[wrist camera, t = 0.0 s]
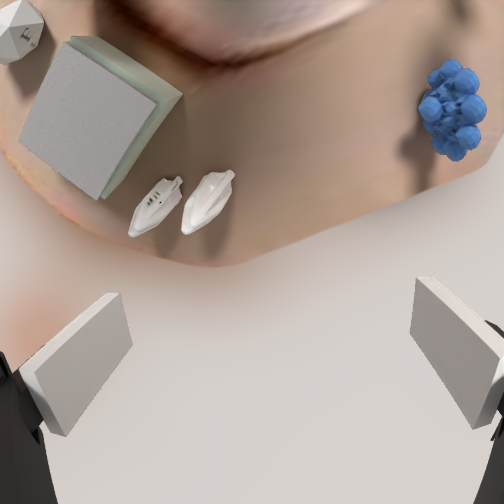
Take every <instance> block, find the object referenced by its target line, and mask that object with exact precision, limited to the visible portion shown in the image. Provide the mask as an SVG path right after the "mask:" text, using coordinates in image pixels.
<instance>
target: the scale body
mask: <svg viewBox="0 0 504 504" xmlns="http://www.w3.org/2000/svg"><path fill="white" fill-rule="evenodd" d="M68 42H70V43H72V44H74V45H75V46H77V47H78V48H80V49H82V50H83V51H85V52H86V53H88V54H89V55H91V56H93V57H94V58H96V59H97V60H99V61H100V62H102V63H103V64H105V65H106V66H108V67H109V68H111V69H112V70H114V71H115V72H117V73H118V74H120V75H121V76H123V77H124V78H126V79H127V80H129V81H130V82H132V83H133V84H134V85H136V86H137V87H139V88H140V89H142V90H143V91H145V92H146V93H147V94H149V95H150V96H152V97H153V98H154V99H156V100H157V101H159V102H160V104H159V105H158V107H157V108H156V109H155V111H154V112H153V114H152V115H151V117H150V118H149V119H148V121H147V122H146V124H145V125H144V127H143V128H142V130H141V131H140V133H139V134H138V136H137V137H136V139H135V140H134V142H133V144H132V145H131V147H130V148H129V150H128V151H127V153H126V155H125V156H124V158H123V160H122V161H121V163H120V164H119V166H118V168H117V169H116V171H115V173H114V175H113V176H112V178H111V180H110V181H109V183H108V185H107V187H106V188H105V190H104V192H103V194H102V196H101V197H102V198H103V199H104V200H105V199H106V198H107V197H108V196H109V195H110V194H111V193H112V192H113V191H114V190H115V189H116V188H117V186H118V185H119V184H120V183H121V182H122V181H123V180H124V179H125V177H126V176H127V174H128V172H129V171H130V169H131V168H132V166H133V165H134V163H135V162H136V160H137V158H138V157H139V155H140V154H141V152H142V151H143V149H144V148H145V146H146V145H147V143H148V142H149V140H150V139H151V138H152V136H153V135H154V133H155V132H156V130H157V129H158V128H159V126H160V125H161V123H162V122H163V121H164V119H165V118H166V116H167V115H168V114H169V112H170V111H171V110H172V108H173V107H174V106H175V104H176V103H177V102H178V100H179V99H180V98H181V96H182V95H183V93H181V92H180V91H179V90H177V89H176V88H174V87H173V86H172V85H170V84H169V83H167V82H166V81H165V80H163V79H162V78H160V77H159V76H157V75H156V74H154V73H153V72H152V71H150V70H149V69H147V68H146V67H144V66H143V65H141V64H140V63H138V62H137V61H135V60H134V59H132V58H131V57H129V56H128V55H126V54H125V53H123V52H121V51H120V50H118V49H117V48H115V47H114V46H112V45H110V44H109V43H107V42H106V41H104V40H103V39H101V38H99V37H98V36H71V38H70V40H69V41H68Z"/></svg>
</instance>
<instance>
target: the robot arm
mask: <svg viewBox="0 0 504 504" xmlns="http://www.w3.org/2000/svg"><path fill="white" fill-rule="evenodd" d="M410 334H411V336H412V337H413V339H414V340H415V341H416V343H417V344H418V346H419V347H420V349H421V350H422V352H423V353H424V355H425V356H426V357H427V359H428V360H429V362H430V363H431V365H432V366H433V368H434V369H435V371H436V372H437V374H438V375H439V377H440V378H441V380H442V381H443V383H444V384H445V386H446V388H447V389H448V391H449V392H450V394H451V395H452V397H453V398H454V400H455V402H456V403H457V405H458V406H459V408H460V410H461V411H462V413H463V414H464V416H465V418H466V419H467V421H468V423H469V424H470V426H471V428H472V429H476V428H479V427H482V426H485V425H488V424H490V423H491V422H492V420H493V417H494V415H495V413H496V411H497V410H498V411H499V412H500V414H501V415H502V418H501V420H500V422H499V424H498V426H497V428H496V430H495V433H494V434H493V436H492V438H491V441H493V440H494V439H495V440H494V444H493V447H492V451H491V454H490V458H489V461H488V464H487V467H486V470H485V474H484V476H483V479H482V482H481V485H480V488H479V490H478V493H477V496H476V498H475V501H474V503H473V504H504V332H503V331H502V330H501V329H500V328H499V327H498V326H497V325H495V324H493V323H490V322H488V321H486V320H485V321H484V320H483V319H481V318H480V317H479V316H478V315H477V314H476V313H475V312H474V311H472V310H471V309H470V308H469V307H468V306H467V305H465V304H464V303H463V302H462V301H461V300H459V299H458V298H457V297H456V296H455V295H453V294H452V293H451V292H450V291H449V290H448V289H446V288H445V287H444V286H443V285H441V284H440V283H439V282H438V281H437V280H435V279H434V278H433V277H431V276H426V277H417V278H416V284H415V294H414V304H413V312H412V320H411V327H410ZM131 347H132V340H131V336H130V333H129V329H128V325H127V321H126V316H125V312H124V308H123V304H122V299H121V295H120V293H106V294H104V295H103V296H102V297H101V298H99V299H98V300H97V301H96V302H94V303H93V304H92V305H91V306H90V307H88V308H87V309H86V310H85V311H84V312H82V313H81V314H80V315H79V316H78V317H77V318H76V319H74V320H73V321H72V322H71V323H70V324H68V325H67V326H66V327H65V328H64V329H63V330H61V331H60V332H59V333H58V334H57V335H56V336H55V337H53V338H52V339H51V340H50V341H49V342H48V343H47V344H45V345H44V346H42V347H41V348H40V349H39V350H38V351H37V353H35V354H34V355H32V356H31V358H29V359H28V360H27V361H26V362H25V363H24V364H22V365H21V366H20V367H19V368H18V369H17V370H16V371H15V372H14V373H13V374H12V372H11V370H10V368H9V365H8V363H7V360H6V358H5V356H4V353H2V352H1V351H0V504H58V503H57V499H56V495H55V491H54V487H53V483H52V479H51V474H50V470H49V465H48V460H47V455H46V449H45V444H44V438H43V433H42V430H41V429H40V427H39V425H40V424H41V422H42V421H43V420H44V422H45V423H46V425H47V427H48V429H49V431H50V432H51V433H54V434H58V435H61V436H64V437H67V435H68V434H69V432H70V431H71V430H72V428H73V427H74V425H75V424H76V422H77V421H78V419H79V418H80V416H81V415H82V414H83V412H84V411H85V410H86V408H87V407H88V405H89V404H90V403H91V401H92V400H93V398H94V397H95V396H96V394H97V393H98V392H99V390H100V389H101V387H102V386H103V384H104V383H105V382H106V380H107V379H108V378H109V376H110V375H111V374H112V372H113V371H114V370H115V368H116V367H117V365H118V364H119V363H120V361H121V360H122V359H123V357H124V356H125V355H126V353H127V352H128V350H129V349H130V348H131Z"/></svg>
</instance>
